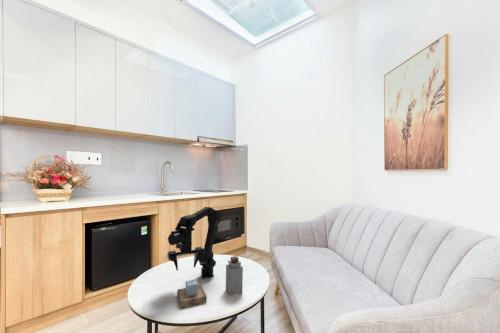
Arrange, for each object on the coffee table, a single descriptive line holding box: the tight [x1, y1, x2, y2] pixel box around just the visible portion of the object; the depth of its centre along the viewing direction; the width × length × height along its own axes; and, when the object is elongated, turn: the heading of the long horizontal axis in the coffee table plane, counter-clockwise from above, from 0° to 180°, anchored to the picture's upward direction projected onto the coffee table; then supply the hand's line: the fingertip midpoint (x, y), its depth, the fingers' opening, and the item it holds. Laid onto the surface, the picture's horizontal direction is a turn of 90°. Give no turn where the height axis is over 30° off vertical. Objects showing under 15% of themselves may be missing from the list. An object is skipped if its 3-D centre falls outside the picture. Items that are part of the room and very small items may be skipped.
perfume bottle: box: [225, 255, 244, 297], centre depth 121 cm, size 7×7×18 cm
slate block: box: [185, 279, 199, 296], centre depth 113 cm, size 5×5×5 cm
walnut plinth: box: [176, 284, 208, 309], centre depth 113 cm, size 12×12×3 cm
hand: (185, 268), depth 122 cm, fingers open, 9 cm apart
